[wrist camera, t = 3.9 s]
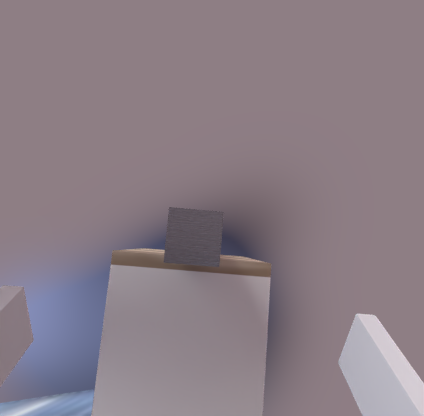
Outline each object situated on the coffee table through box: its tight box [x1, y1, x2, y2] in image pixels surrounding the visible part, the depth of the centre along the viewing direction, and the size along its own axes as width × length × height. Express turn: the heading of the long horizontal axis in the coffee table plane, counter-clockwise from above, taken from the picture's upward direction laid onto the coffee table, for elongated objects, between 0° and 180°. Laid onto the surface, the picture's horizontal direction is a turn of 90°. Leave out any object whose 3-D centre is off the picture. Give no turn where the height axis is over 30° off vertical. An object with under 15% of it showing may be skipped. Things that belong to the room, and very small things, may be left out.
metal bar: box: [164, 207, 223, 267], centre depth 29 cm, size 26×3×3 cm, turn 3°
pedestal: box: [92, 249, 271, 416], centre depth 31 cm, size 16×14×30 cm
